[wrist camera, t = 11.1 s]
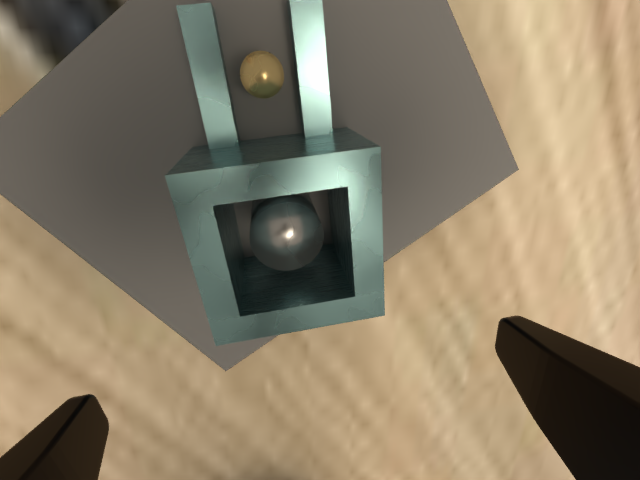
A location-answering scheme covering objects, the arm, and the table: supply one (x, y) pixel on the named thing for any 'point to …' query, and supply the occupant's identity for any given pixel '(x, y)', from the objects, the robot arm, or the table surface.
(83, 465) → the robot arm
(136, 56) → the post board
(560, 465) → the table surface
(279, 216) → the grey metallic rounded piece
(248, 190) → the teal collar
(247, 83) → the shiny brass sphere
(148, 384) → the table surface
